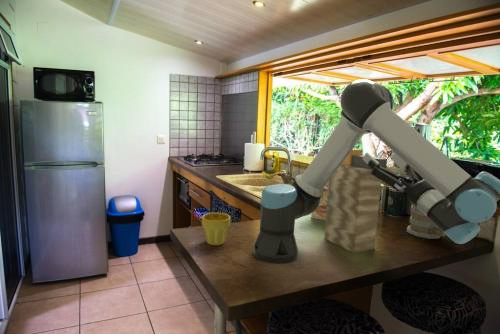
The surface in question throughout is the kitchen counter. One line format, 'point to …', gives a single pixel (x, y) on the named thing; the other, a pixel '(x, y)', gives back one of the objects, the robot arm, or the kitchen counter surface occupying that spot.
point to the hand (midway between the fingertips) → (379, 155)
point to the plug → (361, 160)
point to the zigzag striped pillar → (352, 208)
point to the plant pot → (215, 227)
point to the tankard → (422, 225)
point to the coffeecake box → (322, 205)
